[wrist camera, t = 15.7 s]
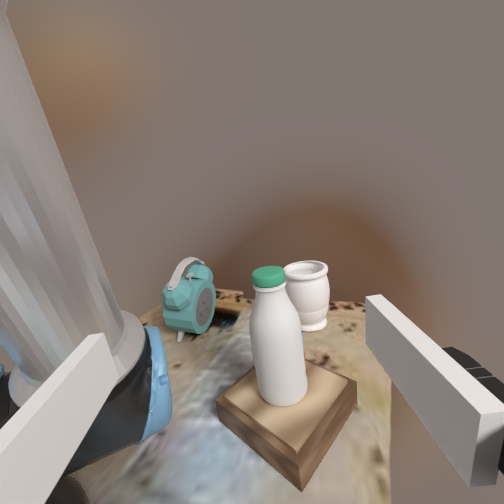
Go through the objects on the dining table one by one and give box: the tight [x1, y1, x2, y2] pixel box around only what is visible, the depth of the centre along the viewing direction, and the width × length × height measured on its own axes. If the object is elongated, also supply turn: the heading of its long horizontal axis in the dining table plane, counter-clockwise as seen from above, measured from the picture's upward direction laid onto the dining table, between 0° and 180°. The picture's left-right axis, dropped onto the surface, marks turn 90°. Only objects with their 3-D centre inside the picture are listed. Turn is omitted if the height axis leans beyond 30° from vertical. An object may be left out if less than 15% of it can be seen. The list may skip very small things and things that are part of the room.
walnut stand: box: [215, 359, 357, 492], centre depth 43 cm, size 16×16×5 cm
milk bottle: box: [249, 266, 308, 407], centre depth 39 cm, size 8×8×20 cm
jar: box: [284, 261, 330, 332], centre depth 65 cm, size 11×10×15 cm
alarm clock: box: [162, 257, 216, 342], centre depth 69 cm, size 17×10×20 cm, turn 164°
